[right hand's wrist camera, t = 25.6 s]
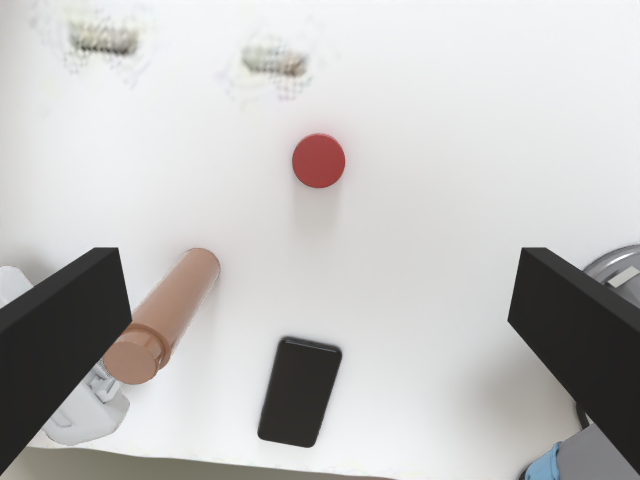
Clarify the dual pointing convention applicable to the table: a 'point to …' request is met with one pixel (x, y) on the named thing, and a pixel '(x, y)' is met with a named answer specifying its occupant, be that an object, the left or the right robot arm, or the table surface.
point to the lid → (318, 160)
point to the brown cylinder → (162, 318)
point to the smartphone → (298, 392)
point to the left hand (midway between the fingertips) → (106, 331)
